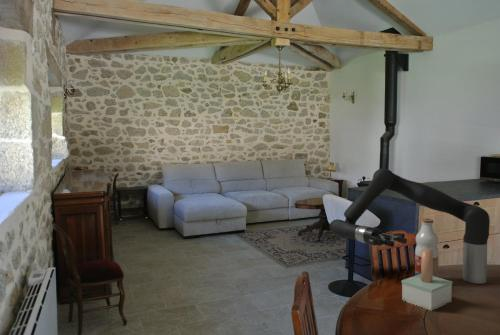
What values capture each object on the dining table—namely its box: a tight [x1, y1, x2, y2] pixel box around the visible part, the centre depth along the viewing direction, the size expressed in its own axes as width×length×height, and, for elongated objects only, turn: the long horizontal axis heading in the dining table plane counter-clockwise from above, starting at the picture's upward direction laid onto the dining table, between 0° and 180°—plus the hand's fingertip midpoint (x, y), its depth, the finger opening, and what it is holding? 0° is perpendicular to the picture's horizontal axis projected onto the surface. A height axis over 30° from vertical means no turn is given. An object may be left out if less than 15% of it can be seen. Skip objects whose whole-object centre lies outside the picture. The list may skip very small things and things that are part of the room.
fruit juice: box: [414, 218, 439, 278], centre depth 171 cm, size 9×9×28 cm
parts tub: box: [401, 283, 453, 312], centre depth 150 cm, size 14×12×7 cm
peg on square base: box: [401, 249, 453, 293], centre depth 150 cm, size 14×12×14 cm
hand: (400, 242), depth 159 cm, fingers open, 8 cm apart
